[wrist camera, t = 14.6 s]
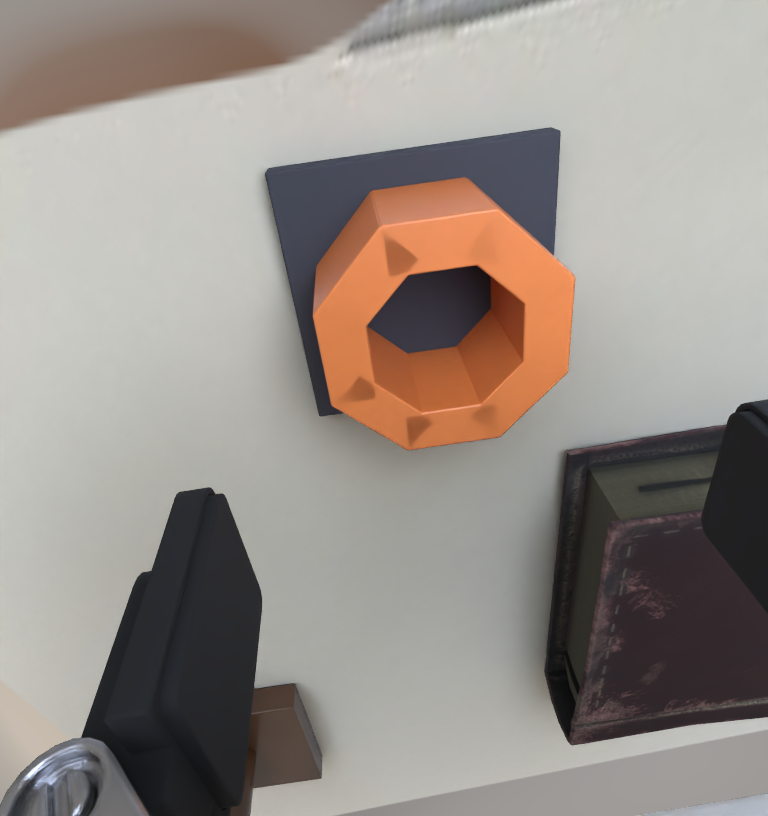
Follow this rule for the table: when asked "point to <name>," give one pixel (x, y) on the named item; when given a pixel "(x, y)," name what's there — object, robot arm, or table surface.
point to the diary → (648, 597)
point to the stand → (278, 743)
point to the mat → (425, 292)
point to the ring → (477, 352)
